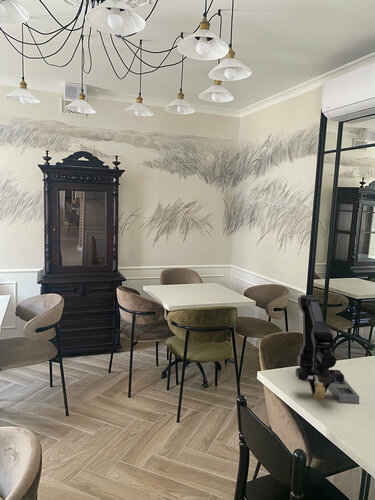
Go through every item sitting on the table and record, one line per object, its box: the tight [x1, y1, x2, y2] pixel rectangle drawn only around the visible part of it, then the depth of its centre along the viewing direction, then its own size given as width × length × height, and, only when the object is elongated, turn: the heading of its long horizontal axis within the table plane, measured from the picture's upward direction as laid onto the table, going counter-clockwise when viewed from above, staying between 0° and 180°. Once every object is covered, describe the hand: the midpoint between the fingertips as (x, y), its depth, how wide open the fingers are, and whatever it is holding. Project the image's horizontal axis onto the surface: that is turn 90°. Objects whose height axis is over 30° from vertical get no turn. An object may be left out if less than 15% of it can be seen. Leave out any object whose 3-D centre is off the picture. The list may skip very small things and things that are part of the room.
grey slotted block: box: [328, 378, 360, 405], centre depth 154 cm, size 8×18×3 cm, turn 176°
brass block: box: [311, 382, 326, 400], centre depth 150 cm, size 4×4×5 cm
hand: (318, 394), depth 150 cm, fingers closed on brass block, 4 cm apart
